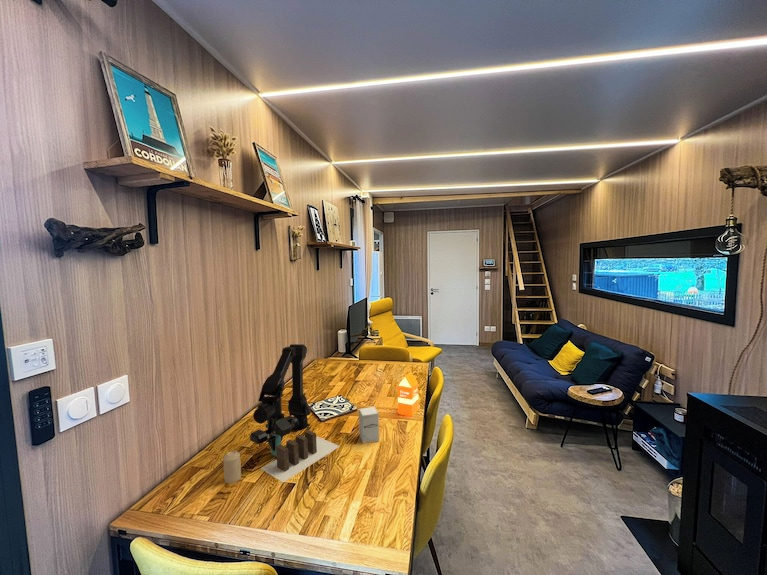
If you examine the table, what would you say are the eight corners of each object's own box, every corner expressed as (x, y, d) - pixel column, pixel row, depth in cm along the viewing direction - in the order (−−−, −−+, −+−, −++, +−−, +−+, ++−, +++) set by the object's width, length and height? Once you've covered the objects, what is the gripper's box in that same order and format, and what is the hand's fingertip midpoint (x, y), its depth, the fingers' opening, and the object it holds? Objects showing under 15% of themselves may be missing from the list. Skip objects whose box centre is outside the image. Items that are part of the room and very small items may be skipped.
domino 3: (295, 465, 123) (294, 445, 122) (287, 461, 126) (286, 441, 125) (298, 463, 124) (297, 443, 124) (291, 459, 127) (290, 439, 127)
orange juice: (398, 413, 165) (397, 375, 164) (405, 407, 173) (404, 370, 171) (412, 416, 161) (411, 377, 160) (418, 409, 169) (418, 372, 168)
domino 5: (313, 454, 130) (312, 435, 129) (305, 450, 133) (304, 431, 132) (316, 452, 131) (316, 433, 131) (309, 448, 134) (308, 429, 134)
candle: (236, 472, 120) (235, 446, 119) (244, 478, 117) (242, 451, 116) (221, 480, 116) (220, 453, 115) (228, 486, 112) (227, 458, 112)
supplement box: (362, 444, 137) (361, 415, 136) (359, 436, 144) (358, 408, 143) (379, 441, 139) (378, 412, 138) (375, 433, 146) (374, 405, 145)
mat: (260, 469, 122) (260, 468, 122) (317, 437, 144) (317, 436, 144) (283, 483, 113) (283, 482, 113) (339, 446, 135) (339, 446, 135)
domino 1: (278, 457, 128) (277, 438, 128) (270, 453, 131) (269, 434, 131) (281, 455, 130) (280, 436, 129) (274, 451, 133) (273, 432, 132)
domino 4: (304, 459, 126) (303, 440, 126) (296, 455, 129) (295, 436, 129) (308, 457, 128) (307, 438, 127) (300, 453, 131) (299, 434, 130)
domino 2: (285, 471, 119) (284, 450, 119) (277, 467, 122) (276, 446, 122) (289, 469, 121) (288, 448, 120) (281, 464, 123) (280, 444, 123)
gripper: (265, 426, 117) (267, 468, 118) (305, 408, 132) (307, 445, 133) (248, 418, 124) (250, 458, 125) (288, 401, 139) (290, 437, 140)
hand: (276, 449), depth 130 cm, fingers closed on domino 1, 2 cm apart
